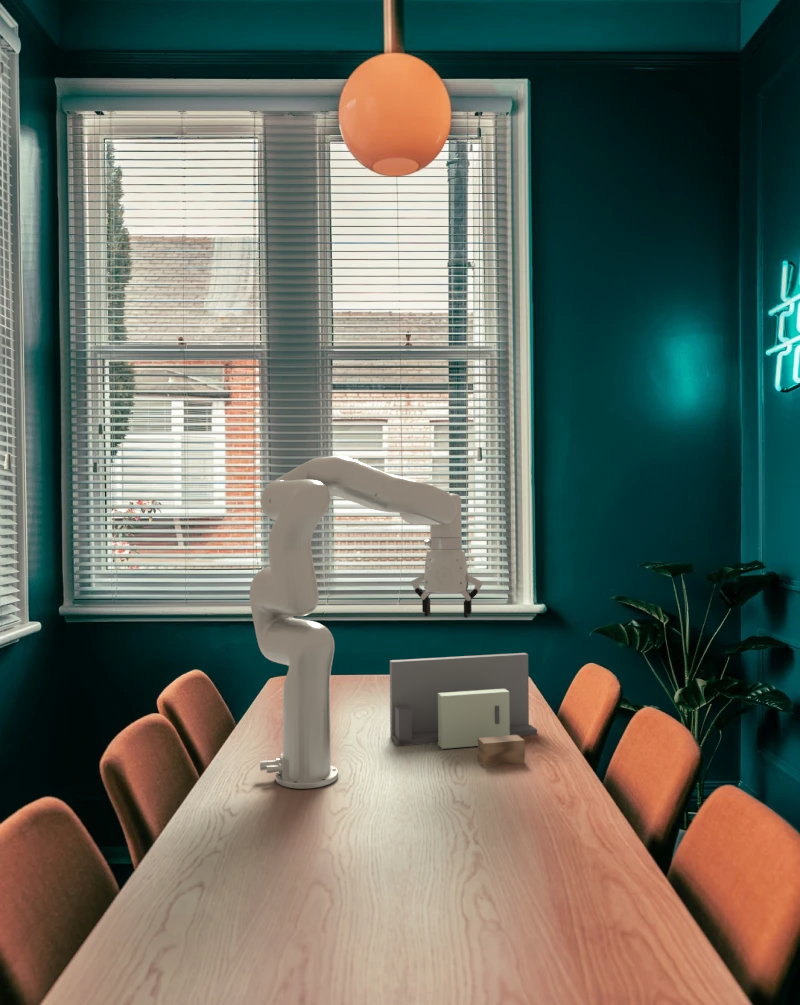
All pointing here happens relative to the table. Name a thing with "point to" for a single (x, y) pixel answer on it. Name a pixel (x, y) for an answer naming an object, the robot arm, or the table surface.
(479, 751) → the walnut block
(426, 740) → the grey upright panel
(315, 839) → the table surface
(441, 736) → the door
